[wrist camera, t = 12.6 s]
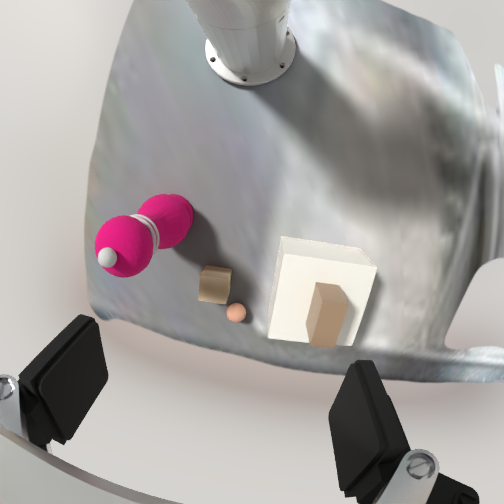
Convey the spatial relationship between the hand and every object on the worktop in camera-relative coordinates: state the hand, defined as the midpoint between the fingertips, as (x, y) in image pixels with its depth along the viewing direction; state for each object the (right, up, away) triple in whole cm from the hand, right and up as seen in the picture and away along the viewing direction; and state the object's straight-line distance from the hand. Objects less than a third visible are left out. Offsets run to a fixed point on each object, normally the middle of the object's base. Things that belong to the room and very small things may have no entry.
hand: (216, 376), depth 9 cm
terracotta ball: (-1, -5, +36) cm, 36 cm away
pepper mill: (-10, +10, +32) cm, 35 cm away
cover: (+11, 0, +33) cm, 35 cm away
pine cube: (-4, 0, +34) cm, 35 cm away
